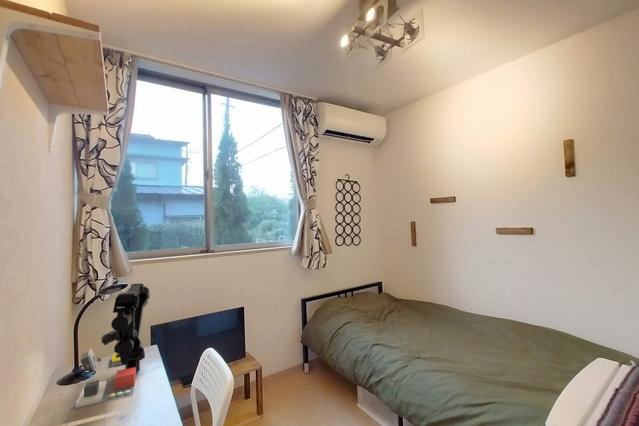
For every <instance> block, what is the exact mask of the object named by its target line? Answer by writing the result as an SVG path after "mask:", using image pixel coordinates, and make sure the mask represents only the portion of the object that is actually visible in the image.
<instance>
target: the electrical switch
mask: <svg viewBox="0 0 639 426" xmlns="http://www.w3.org/2000/svg"><path fill="white" fill-rule="evenodd" d="M80 363H81V366H82V369H83V371H84V372H85V371H91V372H90V373H92V372H97V371H98V367H99V364H98V361H97V358H96V355H95V353H94V350H93V348H90V349H89V350H88V351H87V352H84V353H82V356H81V357H80Z"/></svg>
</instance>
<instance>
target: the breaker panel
mask: <svg viewBox="0 0 639 426" xmlns="http://www.w3.org/2000/svg"><path fill="white" fill-rule="evenodd" d="M136 380H137V378H136V379H135V381H136ZM135 386H136V383H135V384H134V386H130V387H125V388H120V389H116V390H115V380H112V381H108V380H103V381H99V390H98V393H97V394H96V395H92V396H87V397H84V387H85V385H84V386H83V387H81V390H80V392H79V393H78V395H77V397H76V399H75V401H74V402H73V405H72V407H71V408H70V411H74V410H78V409H82V408H87V407H91V406H95V405H99V404H103V403H109V402H113V401H117V400H121V399H125V398H130V397H133V394H134V390H135Z"/></svg>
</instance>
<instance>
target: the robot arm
mask: <svg viewBox="0 0 639 426" xmlns="http://www.w3.org/2000/svg"><path fill="white" fill-rule="evenodd" d="M150 293H151V292H150V289H149V288H148V287H147V286H145V285H144V283H133V284H131V285H130V287H129V288H128V289H127V290H126V291H125V292H121V293H119V294H118V295H117V296H116V297H115V302H114V305H113V311H112V313H114V314H115V313H117V314H116V316H115V317H114V318H113V320H112V321H111V323H110V325H111V328H112V329H113V330H112V331H111V330H110V331H109V332H107V333H105V334H103V335H102V336H101V344H103V346H107V345H108V344H110V343H112V342H114V341H116V342H117V343H115V345H114V349H113V351H114V353H118V354H120V360H121V363H122V364H123V365H125V367H124V369H128V368H133V367H136V373H138V372H139V371H140V370H141V369H140V368H141V361H142V360H144V359H145V358H146V353H145V352H146V351H145V349H144V346H143V343H142V341H141V339H140V334H141V328H142V327H141V326H142V320H143V312H144V308H145V307H146V306H147V305H148V303H149V300H150V297H151V296H150V295H151V294H150Z"/></svg>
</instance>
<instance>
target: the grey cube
mask: <svg viewBox="0 0 639 426" xmlns="http://www.w3.org/2000/svg"><path fill="white" fill-rule="evenodd" d="M99 382H100V379H99V380H98V379H97V380H93V381H88V382H86V383H85V385H84V386H85V387H84V386H83V387H84V397H87V396H92V395H96V394H97V393H98V390H99Z"/></svg>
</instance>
